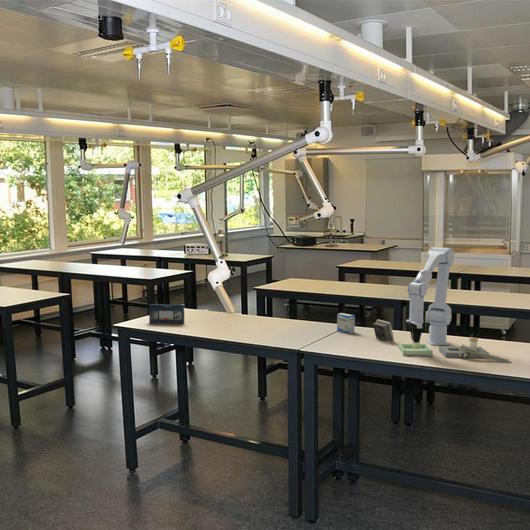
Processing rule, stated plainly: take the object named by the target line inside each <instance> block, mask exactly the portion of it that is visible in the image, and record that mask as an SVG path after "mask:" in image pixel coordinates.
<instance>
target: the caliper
mask: <svg viewBox="0 0 530 530" xmlns="http://www.w3.org/2000/svg"><path fill="white" fill-rule="evenodd" d="M465 347H467V345H466V344H462V345H461V347H460V349H459V357H458V358H459V359H460V356H461V354H462V351H463V352H465V354H464V357H463V358H465V357H466V356H467V355H468V354H470V355H472V356H475V357H476V355H478V356H482V357H486V358H485V359H490V360H494V361H498V362H502V363H507V364H508V363H511V364H512V361H511V360H509V359H508V358H506V357H505V358H504V357H501V356H497V355H492V354H490V353H489V354H486V353H482V352H478V350H475V349H471V348H465ZM463 358H462V359H463ZM465 359H466V358H465Z"/></svg>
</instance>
